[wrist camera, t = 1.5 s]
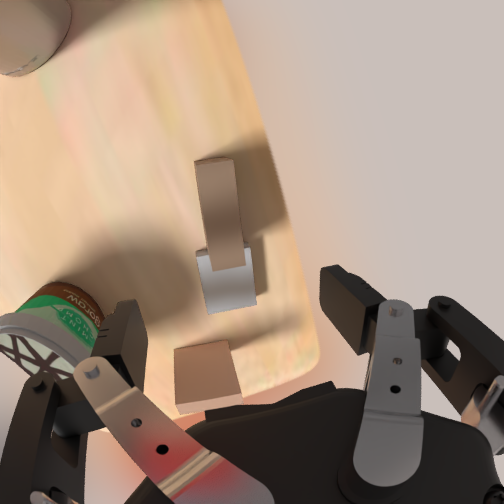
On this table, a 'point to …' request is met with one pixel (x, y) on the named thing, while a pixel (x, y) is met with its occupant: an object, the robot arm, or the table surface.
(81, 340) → the food container
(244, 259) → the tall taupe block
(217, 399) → the tile
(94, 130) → the table surface
